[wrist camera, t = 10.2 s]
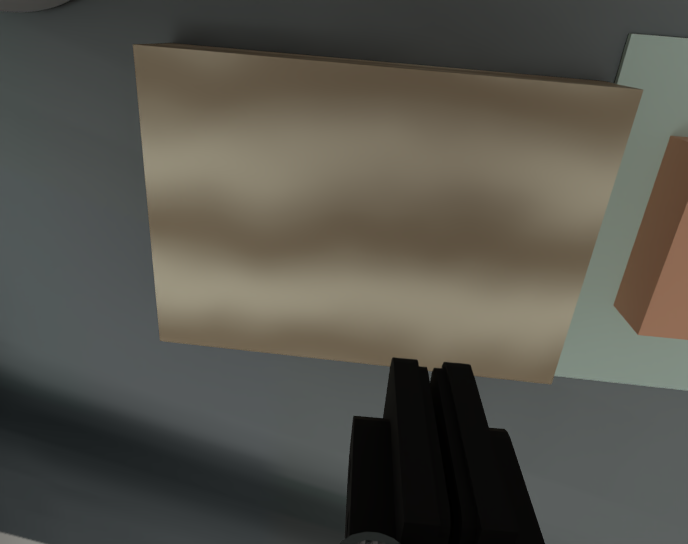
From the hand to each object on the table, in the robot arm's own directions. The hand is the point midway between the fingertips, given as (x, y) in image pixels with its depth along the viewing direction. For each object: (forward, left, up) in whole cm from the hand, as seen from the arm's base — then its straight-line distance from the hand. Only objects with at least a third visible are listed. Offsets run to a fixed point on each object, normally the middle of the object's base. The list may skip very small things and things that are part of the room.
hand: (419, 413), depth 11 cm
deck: (+1, -2, -17) cm, 17 cm away
